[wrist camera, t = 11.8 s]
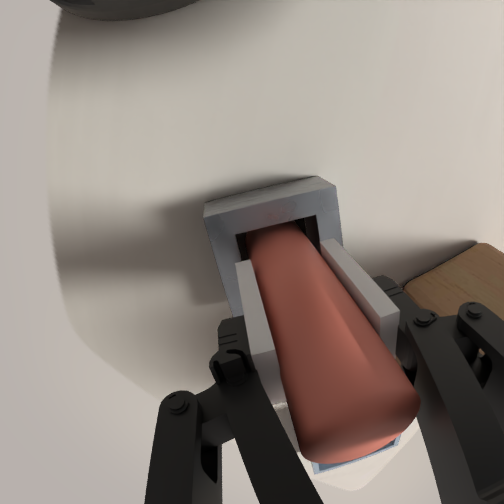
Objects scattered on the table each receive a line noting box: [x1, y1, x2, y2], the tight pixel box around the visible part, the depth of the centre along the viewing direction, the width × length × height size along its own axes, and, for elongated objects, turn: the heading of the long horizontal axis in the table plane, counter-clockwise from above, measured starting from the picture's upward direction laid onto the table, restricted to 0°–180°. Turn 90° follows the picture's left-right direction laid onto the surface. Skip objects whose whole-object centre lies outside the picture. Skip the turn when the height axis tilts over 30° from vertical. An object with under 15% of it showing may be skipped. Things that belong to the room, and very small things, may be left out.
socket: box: [203, 176, 343, 317], centre depth 18 cm, size 7×7×3 cm
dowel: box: [245, 220, 421, 464], centre depth 13 cm, size 4×4×14 cm
